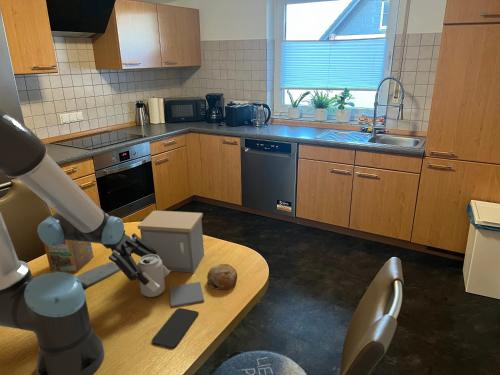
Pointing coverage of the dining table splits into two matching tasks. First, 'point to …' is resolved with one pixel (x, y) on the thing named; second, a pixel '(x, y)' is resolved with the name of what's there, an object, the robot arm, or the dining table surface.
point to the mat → (186, 294)
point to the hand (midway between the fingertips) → (162, 281)
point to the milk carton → (69, 255)
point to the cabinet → (175, 238)
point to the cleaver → (97, 274)
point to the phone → (175, 328)
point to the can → (152, 273)
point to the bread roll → (222, 277)
